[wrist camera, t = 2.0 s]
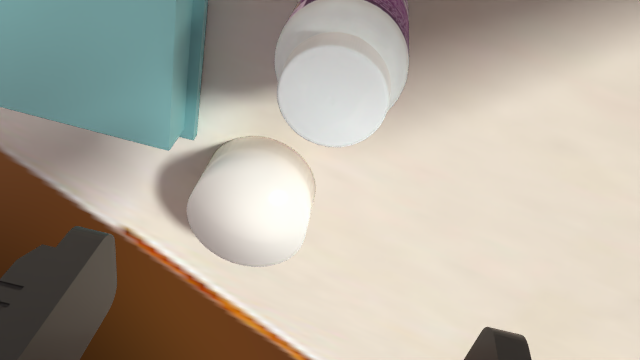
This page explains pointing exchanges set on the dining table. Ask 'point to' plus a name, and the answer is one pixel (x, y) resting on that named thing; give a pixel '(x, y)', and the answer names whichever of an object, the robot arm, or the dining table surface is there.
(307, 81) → the pill bottle
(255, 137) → the white rounded puck
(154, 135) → the podium
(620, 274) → the dining table surface
